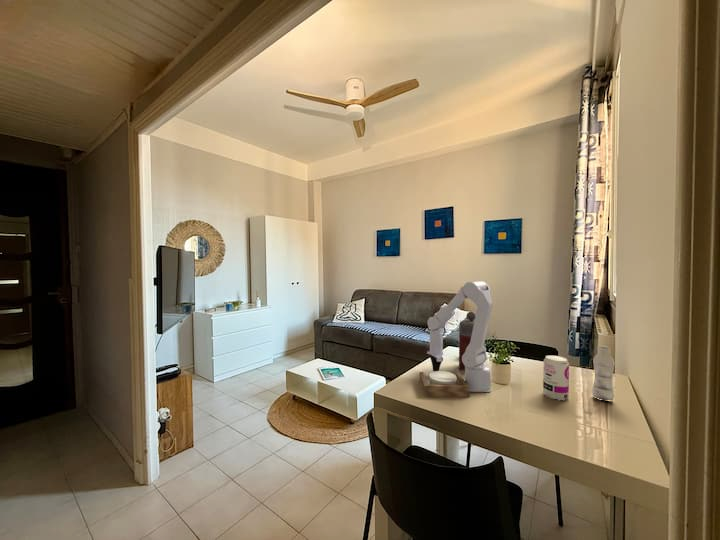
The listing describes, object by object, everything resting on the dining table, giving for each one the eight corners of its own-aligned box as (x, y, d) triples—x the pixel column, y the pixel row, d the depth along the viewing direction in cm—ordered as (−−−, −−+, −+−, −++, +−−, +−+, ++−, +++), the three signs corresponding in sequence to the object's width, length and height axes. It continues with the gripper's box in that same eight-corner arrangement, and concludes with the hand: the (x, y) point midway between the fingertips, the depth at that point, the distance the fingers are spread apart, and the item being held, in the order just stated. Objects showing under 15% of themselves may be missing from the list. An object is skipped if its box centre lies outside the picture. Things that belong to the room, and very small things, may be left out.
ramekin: (440, 396, 117) (440, 383, 117) (423, 385, 127) (423, 373, 127) (462, 391, 121) (462, 378, 121) (444, 381, 132) (444, 369, 131)
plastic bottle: (610, 397, 115) (611, 346, 114) (616, 405, 109) (618, 351, 108) (589, 394, 118) (591, 344, 117) (594, 402, 112) (596, 348, 111)
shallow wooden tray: (459, 381, 130) (459, 372, 130) (469, 397, 116) (469, 386, 116) (419, 380, 132) (419, 371, 131) (424, 396, 117) (424, 385, 117)
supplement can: (570, 396, 117) (570, 357, 116) (566, 403, 111) (567, 363, 110) (545, 389, 122) (546, 353, 122) (540, 396, 116) (541, 358, 116)
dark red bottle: (484, 366, 149) (485, 310, 148) (477, 373, 140) (478, 313, 139) (466, 363, 154) (466, 308, 153) (458, 369, 145) (459, 311, 144)
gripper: (424, 338, 145) (424, 366, 146) (430, 347, 131) (429, 377, 131) (439, 338, 145) (439, 366, 145) (446, 347, 130) (446, 378, 131)
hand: (436, 371), depth 138 cm, fingers closed
